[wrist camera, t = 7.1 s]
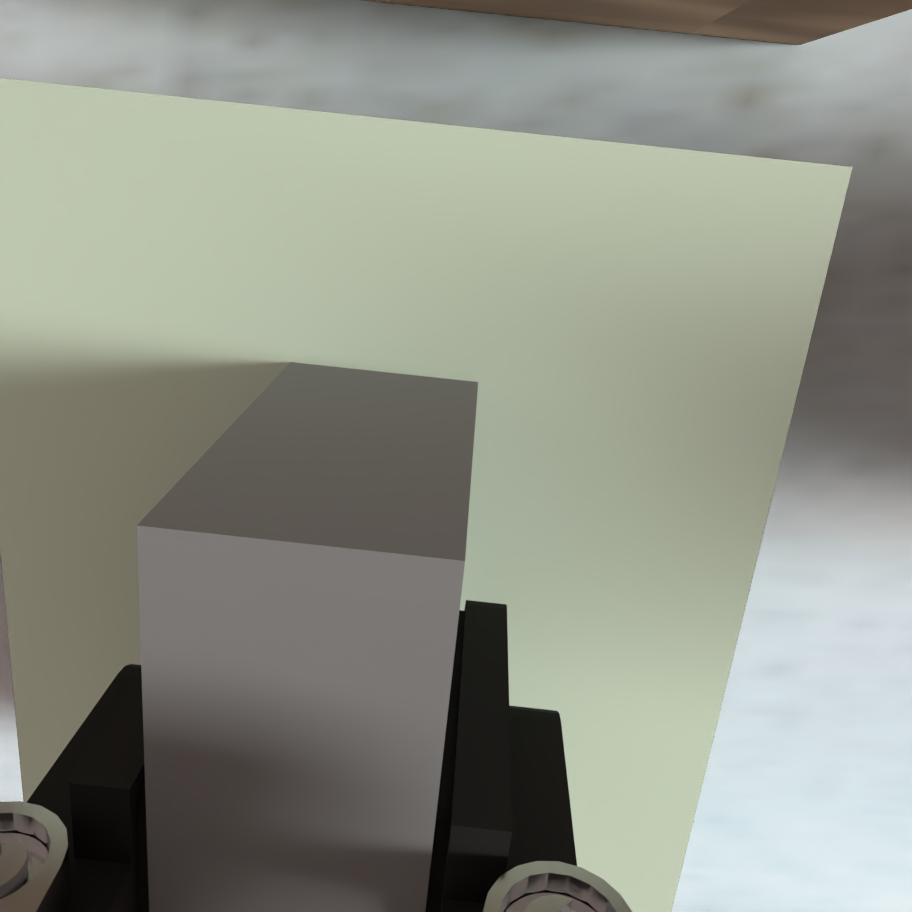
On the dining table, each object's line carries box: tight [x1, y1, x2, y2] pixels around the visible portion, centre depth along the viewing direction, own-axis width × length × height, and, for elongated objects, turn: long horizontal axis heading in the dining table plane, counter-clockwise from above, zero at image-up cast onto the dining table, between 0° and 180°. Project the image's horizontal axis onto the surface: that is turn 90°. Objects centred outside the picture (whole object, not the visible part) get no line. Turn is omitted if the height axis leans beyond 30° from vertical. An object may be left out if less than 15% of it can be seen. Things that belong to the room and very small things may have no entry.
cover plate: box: [0, 78, 852, 912], centre depth 10 cm, size 10×14×6 cm
